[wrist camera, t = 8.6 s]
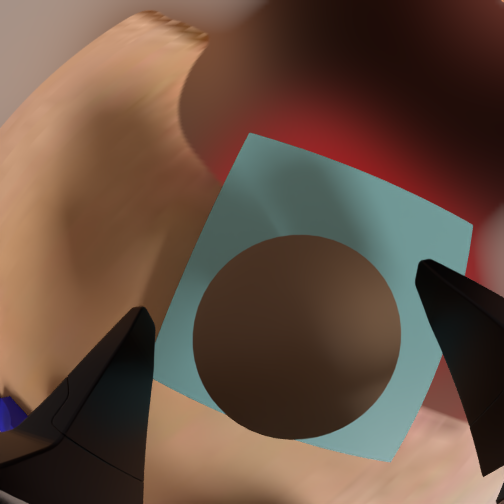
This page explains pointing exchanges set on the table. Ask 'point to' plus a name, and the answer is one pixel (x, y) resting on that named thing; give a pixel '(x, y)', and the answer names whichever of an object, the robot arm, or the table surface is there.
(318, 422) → the tall walnut pin
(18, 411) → the cable clip
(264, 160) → the teal hole plate
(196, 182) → the table surface
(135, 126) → the table surface
